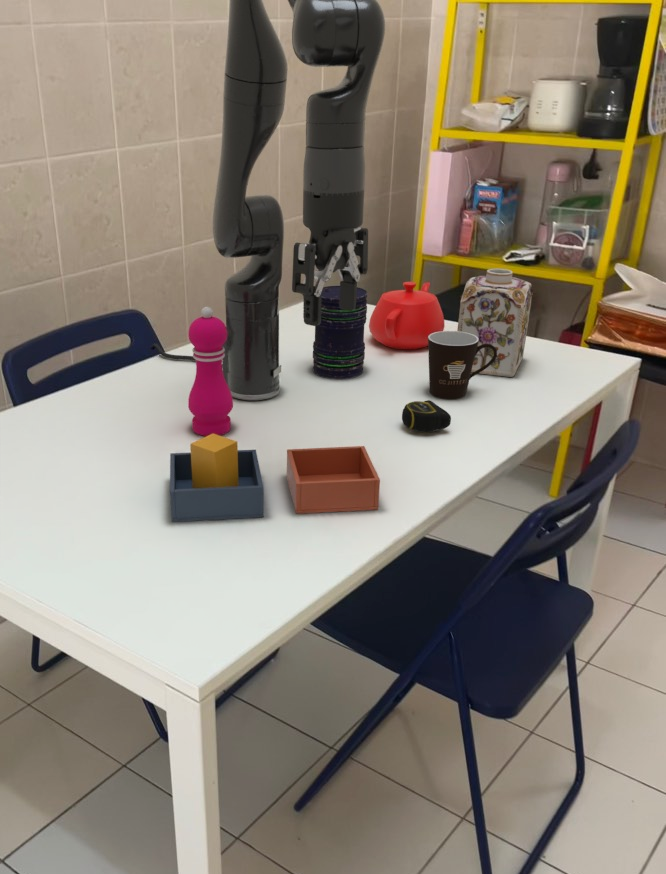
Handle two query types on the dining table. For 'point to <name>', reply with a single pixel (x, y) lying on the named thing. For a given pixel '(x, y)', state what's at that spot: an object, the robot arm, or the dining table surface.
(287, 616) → the dining table surface
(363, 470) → the terracotta bin
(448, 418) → the tape measure
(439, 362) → the coffee mug
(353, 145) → the robot arm
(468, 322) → the decorative jar
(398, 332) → the teapot
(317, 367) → the storage jar
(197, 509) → the slate bin
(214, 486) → the mustard box
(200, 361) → the pepper mill
